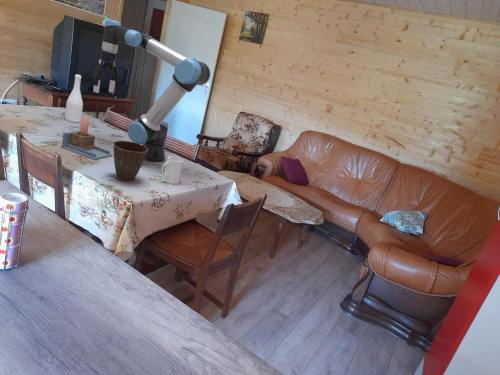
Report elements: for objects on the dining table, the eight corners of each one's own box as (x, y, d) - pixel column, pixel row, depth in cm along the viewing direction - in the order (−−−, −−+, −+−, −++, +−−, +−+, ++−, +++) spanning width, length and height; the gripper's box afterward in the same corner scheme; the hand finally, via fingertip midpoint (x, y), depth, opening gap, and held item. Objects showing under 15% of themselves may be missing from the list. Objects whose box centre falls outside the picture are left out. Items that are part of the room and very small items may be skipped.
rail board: (112, 156, 187) (114, 141, 185) (94, 160, 174) (96, 145, 172) (81, 144, 191) (83, 130, 189) (61, 147, 178) (63, 132, 175)
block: (93, 148, 186) (95, 136, 184) (82, 150, 179) (84, 137, 176) (80, 143, 187) (82, 131, 185) (69, 145, 180) (71, 132, 178)
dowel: (81, 142, 184) (85, 116, 180) (87, 144, 184) (90, 118, 180) (76, 142, 181) (80, 116, 177) (82, 144, 180) (86, 118, 176)
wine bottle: (66, 117, 233) (71, 72, 224) (81, 120, 236) (87, 76, 227) (63, 120, 225) (68, 73, 215) (79, 123, 228) (85, 77, 219)
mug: (163, 185, 169) (168, 162, 165) (153, 178, 174) (158, 155, 170) (182, 183, 178) (187, 161, 175) (172, 177, 183) (177, 155, 179)
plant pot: (147, 183, 165) (154, 152, 160) (118, 185, 154) (124, 151, 149) (131, 171, 174) (136, 141, 169) (102, 172, 162) (107, 140, 157)
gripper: (116, 52, 194) (111, 90, 200) (87, 46, 170) (82, 90, 177) (128, 56, 193) (122, 94, 199) (101, 50, 169) (95, 94, 176)
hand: (103, 92), depth 188 cm, fingers open, 13 cm apart
